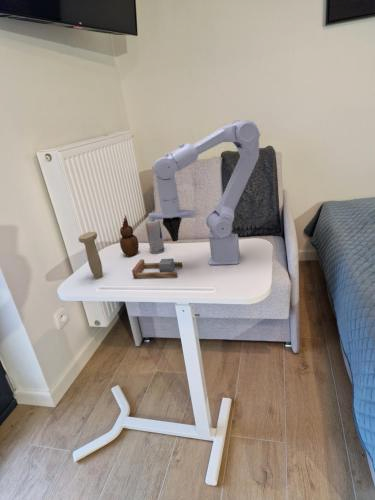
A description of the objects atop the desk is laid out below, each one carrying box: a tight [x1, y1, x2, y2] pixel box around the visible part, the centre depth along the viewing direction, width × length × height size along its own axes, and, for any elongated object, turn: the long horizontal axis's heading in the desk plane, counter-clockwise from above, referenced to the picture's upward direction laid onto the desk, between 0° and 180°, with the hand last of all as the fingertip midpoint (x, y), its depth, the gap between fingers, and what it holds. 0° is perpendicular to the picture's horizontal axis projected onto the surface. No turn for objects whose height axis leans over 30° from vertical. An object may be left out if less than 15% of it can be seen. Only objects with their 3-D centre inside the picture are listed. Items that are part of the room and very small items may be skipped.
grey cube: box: [158, 258, 176, 272], centre depth 106 cm, size 4×4×4 cm
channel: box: [131, 259, 183, 280], centre depth 107 cm, size 14×8×3 cm, turn 78°
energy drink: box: [145, 219, 165, 254], centre depth 122 cm, size 5×5×12 cm
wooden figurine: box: [119, 214, 140, 257], centre depth 122 cm, size 7×6×15 cm
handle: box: [78, 231, 104, 279], centre depth 108 cm, size 5×6×15 cm
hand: (175, 240), depth 104 cm, fingers closed
